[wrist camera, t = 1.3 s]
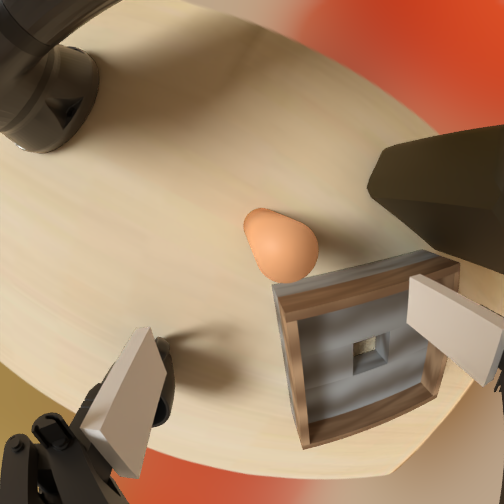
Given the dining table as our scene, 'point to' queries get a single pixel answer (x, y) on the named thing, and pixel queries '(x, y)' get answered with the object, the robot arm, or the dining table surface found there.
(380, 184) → the bottle
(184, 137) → the dining table surface
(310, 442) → the crate
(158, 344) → the mug
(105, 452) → the robot arm
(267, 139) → the dining table surface
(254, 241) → the peg
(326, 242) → the dining table surface
